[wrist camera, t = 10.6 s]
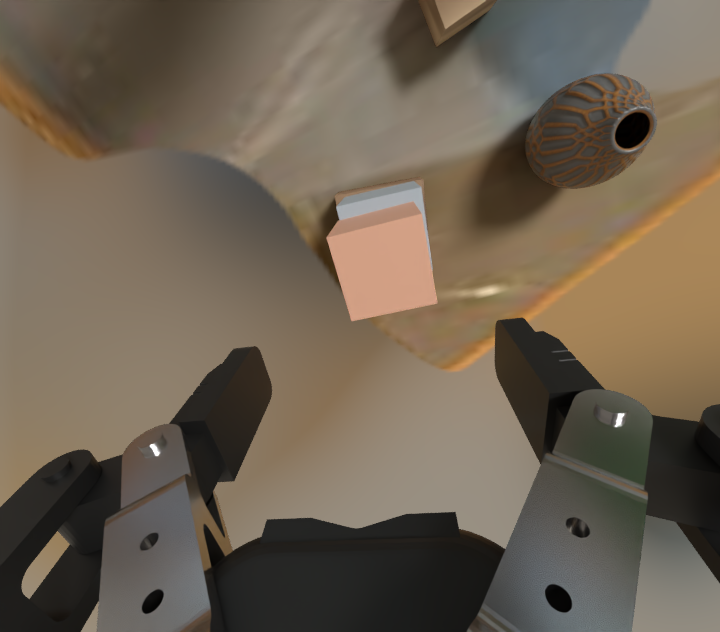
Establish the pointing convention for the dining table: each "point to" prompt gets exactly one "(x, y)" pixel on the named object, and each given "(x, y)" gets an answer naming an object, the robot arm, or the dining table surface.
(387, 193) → the slate cube
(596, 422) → the robot arm
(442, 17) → the maple block
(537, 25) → the dining table surface
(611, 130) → the vase
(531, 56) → the dining table surface
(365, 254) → the terracotta cube
